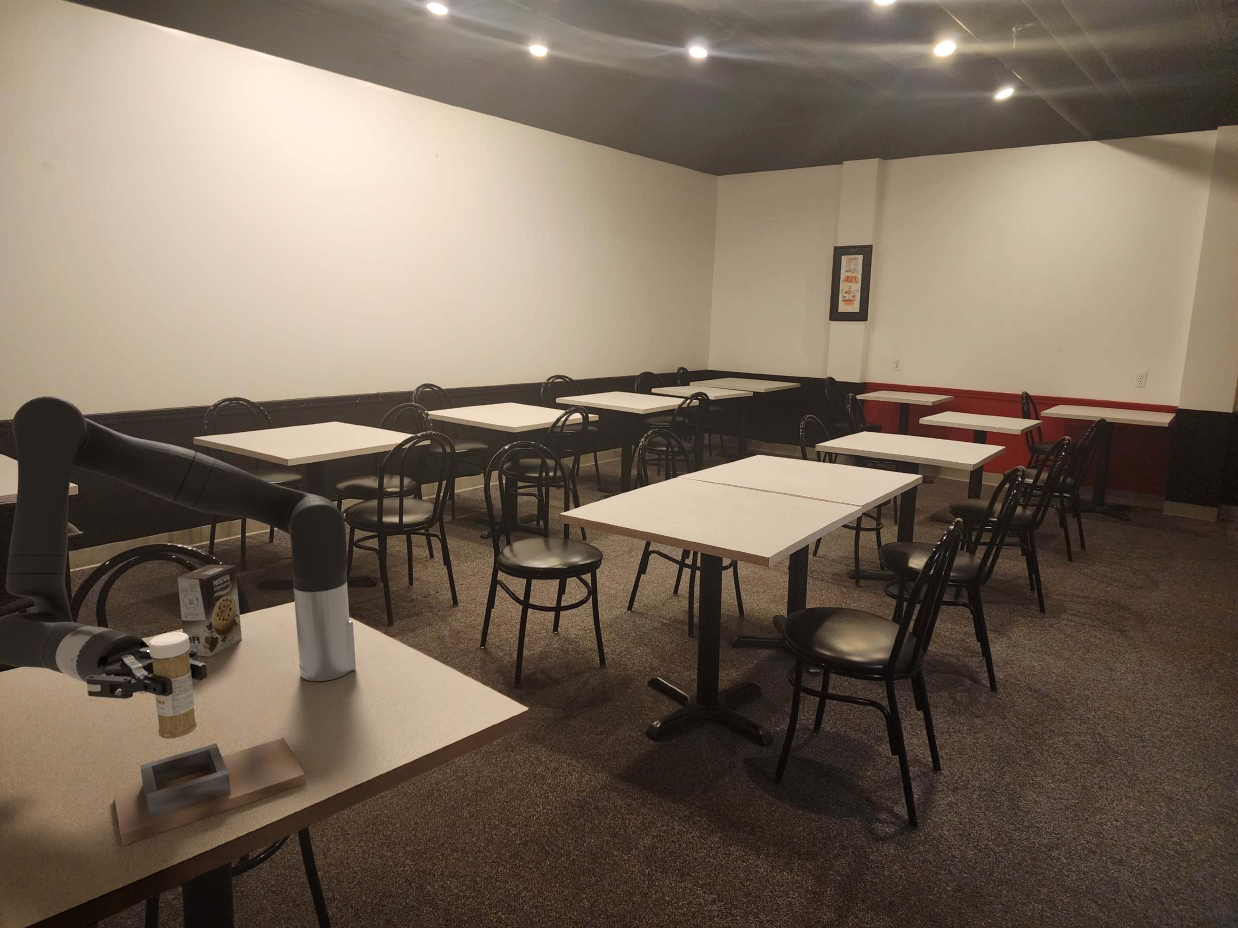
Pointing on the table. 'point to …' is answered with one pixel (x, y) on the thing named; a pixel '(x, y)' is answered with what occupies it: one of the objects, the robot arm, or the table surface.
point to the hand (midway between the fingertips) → (187, 679)
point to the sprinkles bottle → (174, 684)
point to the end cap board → (202, 786)
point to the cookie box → (210, 608)
